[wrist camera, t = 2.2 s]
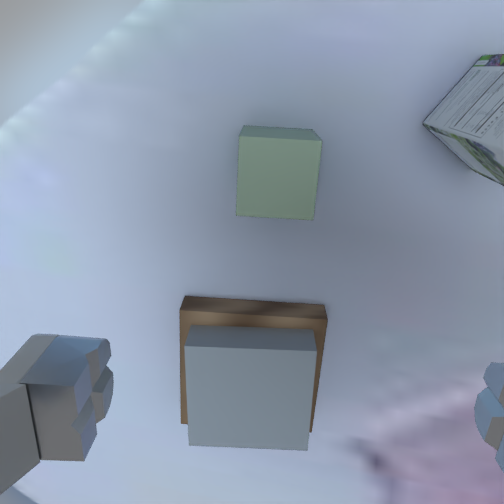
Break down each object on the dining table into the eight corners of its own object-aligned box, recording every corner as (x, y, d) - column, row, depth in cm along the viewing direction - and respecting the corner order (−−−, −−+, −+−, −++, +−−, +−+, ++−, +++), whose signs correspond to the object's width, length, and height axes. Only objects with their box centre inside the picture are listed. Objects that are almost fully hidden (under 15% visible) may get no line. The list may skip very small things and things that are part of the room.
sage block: (312, 129, 31) (322, 141, 25) (305, 196, 33) (313, 220, 27) (244, 125, 31) (239, 136, 25) (241, 192, 33) (235, 215, 27)
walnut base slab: (323, 301, 37) (327, 319, 34) (308, 408, 42) (311, 432, 39) (186, 292, 37) (179, 310, 34) (186, 400, 42) (180, 423, 39)
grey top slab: (313, 329, 35) (317, 351, 32) (304, 423, 38) (307, 450, 36) (191, 324, 35) (184, 346, 32) (194, 419, 39) (188, 445, 36)
